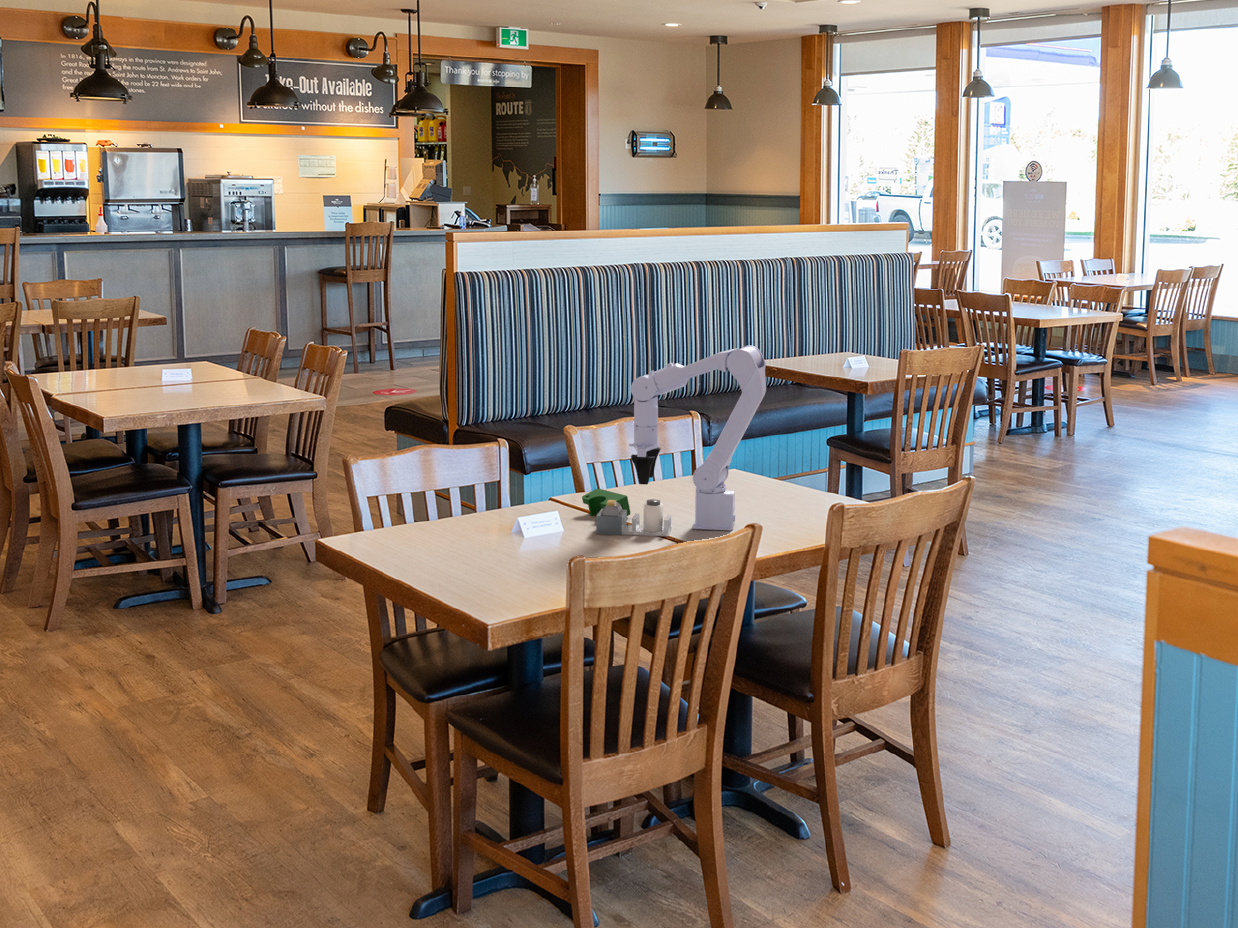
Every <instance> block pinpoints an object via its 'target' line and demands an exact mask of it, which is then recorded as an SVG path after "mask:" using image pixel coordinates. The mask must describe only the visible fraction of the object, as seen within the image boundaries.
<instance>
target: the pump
mask: <svg viewBox="0 0 1238 928" xmlns="http://www.w3.org/2000/svg"><path fill="white" fill-rule="evenodd" d="M642 524H643V525H642V526H643V529H644V530H645V531H651V532H656V531H661V530H663V526H664V504H663V503H662V502H661V500H660V499H654V498H652V499H647V500H646V502H644V503H643V523H642Z"/></svg>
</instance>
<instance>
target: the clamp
mask: <svg viewBox="0 0 1238 928" xmlns="http://www.w3.org/2000/svg"><path fill="white" fill-rule="evenodd" d="M581 498H582V503H583V505H588V506H587V507H588V511H589V515H590V517H594V516H595V515H597V514H598V513H599V512H600V510H601V509H604V508H605V507H606V505H607V501H608V500H616V502H618V503H619V504H620V505H621V507H622V509H623V510H627V517H628V516H630V515H631V508H630V503H629V498H628V495H626V494H621V493H617V492H613V491H610V490H607V489H602V488H595V489H593V490H592V491H589V492H587V493H585V494H584V495H582V496H581Z"/></svg>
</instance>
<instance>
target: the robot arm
mask: <svg viewBox="0 0 1238 928" xmlns="http://www.w3.org/2000/svg"><path fill="white" fill-rule="evenodd" d="M766 366H767V362H766V360H765V358H764V355H763V353H762V352H761V350H760V349H759V348H758V347H756V346H754V345H749V344H748V345H743V347H741V348H739V347H738V348H737V347H736V348H732V349H727V350H723V351H720V352H717V353H715V354H712V355H709V356H707V357H705V358H702V359H700V360H698V361H695V362H693V363H689V364H688V365H682V364H680V363H677V362H676V363H673V362H670V363H667V364H666V365H665V367H663V368H660V369H657V370H656V371H654V370H650V371H648V374H645V375H643V376H642V375H641V376H638V377H637V378H636V379H634V380H633V381H632V383H631V386H630V392H631V395H632V396H633V398H634V399H633V400H634V401H633V403H634V404H633V405H634V406H633V417H634V418H633V419H634V420H633V435H634V436H633V441H630V442H629V444H628V446H629V447H633V448H634V449H635V450H636V454H631V455H630V459H631V461H632V463H633V465H634V468H635V471H636V476H637V477H636V478H637V481H638V484H639V485H646V486H647V485H648V484H649V481H650V478H651V479H652V478H653V476H654V473H655V469H656V462H657V459H658V456H659V454H660V452H661V447H659V446H660V444H659V406H658V405H659V404H658V403H659V401H658V400H659V397H658V396H659V395H660V396H662V395H664V394H667V393H670V392H673V391H676V390H678V389H681V388H683V387H686V386H687V384H688V381H689V379H692V378H696V377H699V376H700V375H701V376H702V375H704V374H707V373H710V372H714V371H715V370H719V371H721V372H723V373H727V372H729V373H730V374H731V375H732V376H733V378H734V379H735V380H736V381H737V383H738V385H739V387H740V390H741V394H740V396H739V397H738V400H737V401H736V403H735V406H734V408H733V410H732V411H731V413H730V416H729V417H728V419H727V420H726V423H725V425H724V426H723V428H722V430H721V433H720V434H719V437H718V439H717V440H716V442H715V444H714V445H713V447H712V450H711V451H710V452H709V454H707V457H706V458H705V460H704V462H703V463H702V464H701V465H700V466H698V467H697V468H696V469H695V470H694V472H693V474H692V481H693V484H694V486H695V502H694V503H695V505H694V506H695V507H694V508H695V511H694V512H695V515H694V521H693V524H692V526H691V529H692V530H708V531H709V530H710V531H711V530H713V531H732V530H733V529H734V528H733V527H734V525H735V522H736V514H735V511H736V510H735V509H736V508H735V502H736V501H735V500H736V498H735V497H736V496H735V495H736V493H735V491H734V490H729V489H727V487H726V484H725V481H726V480H727V479H728V478H729V477H728V476H729V473H730V472H729V468H730V464H731V463H732V459H733V455H734V453H735V452H736V450H737V448H738V446H739V444H740V442H741V440H742V439H743V438H744V437H743V436H744V435H745V433H746V431H747V429H748V428H749V426H750V424H751V422H752V420H753V418H754V416H755V414H756V412H757V410H758V408H759V407H760V404H761V402H762V401H763V398H764V397H765V395H766V392H767V383H766Z"/></svg>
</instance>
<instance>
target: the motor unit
mask: <svg viewBox="0 0 1238 928" xmlns="http://www.w3.org/2000/svg"><path fill="white" fill-rule="evenodd" d="M627 517H628V516H627V510H623V509H622V507H621V505H620V504H619V503H618V502H616V500H608V501H607V505H606V507H605V508H604V509H601V510H600V512H599V513H598V514H596V516H595V522H596V523H595V525H596V528H595V529H596V530H595V531H596V533H595V534H596V535H611V536H624V535H625V536H627V535H628V536H645V537H646V536H649V537H650V536H651V537H669V535H670V533H671V531H672V515H671V514H666V516H665V517H664V518H663V530H661V531H656V532H651V531H645V530H644V529H643V525H641V524H640V513H635V514H633V516H632V518H631V524H628V521H627V520H628V518H627Z"/></svg>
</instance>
